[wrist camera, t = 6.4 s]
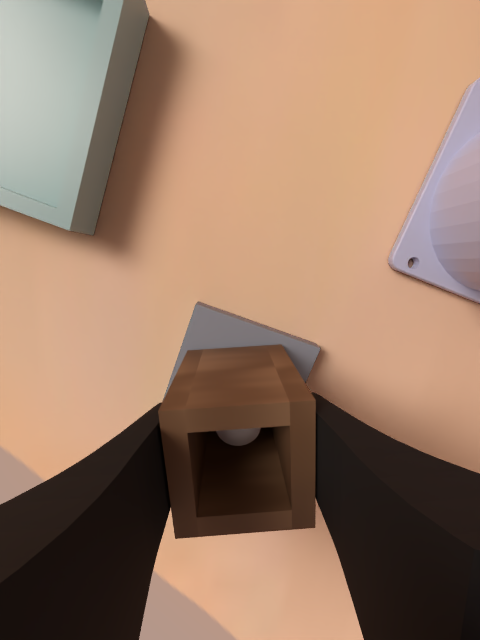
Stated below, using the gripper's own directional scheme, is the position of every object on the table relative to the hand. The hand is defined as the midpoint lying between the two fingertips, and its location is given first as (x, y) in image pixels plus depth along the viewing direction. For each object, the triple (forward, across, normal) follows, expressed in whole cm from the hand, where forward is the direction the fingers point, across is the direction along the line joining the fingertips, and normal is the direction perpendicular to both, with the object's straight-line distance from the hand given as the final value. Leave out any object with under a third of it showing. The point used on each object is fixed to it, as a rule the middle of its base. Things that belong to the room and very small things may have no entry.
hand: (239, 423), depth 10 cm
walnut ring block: (+3, 0, 0) cm, 3 cm away
